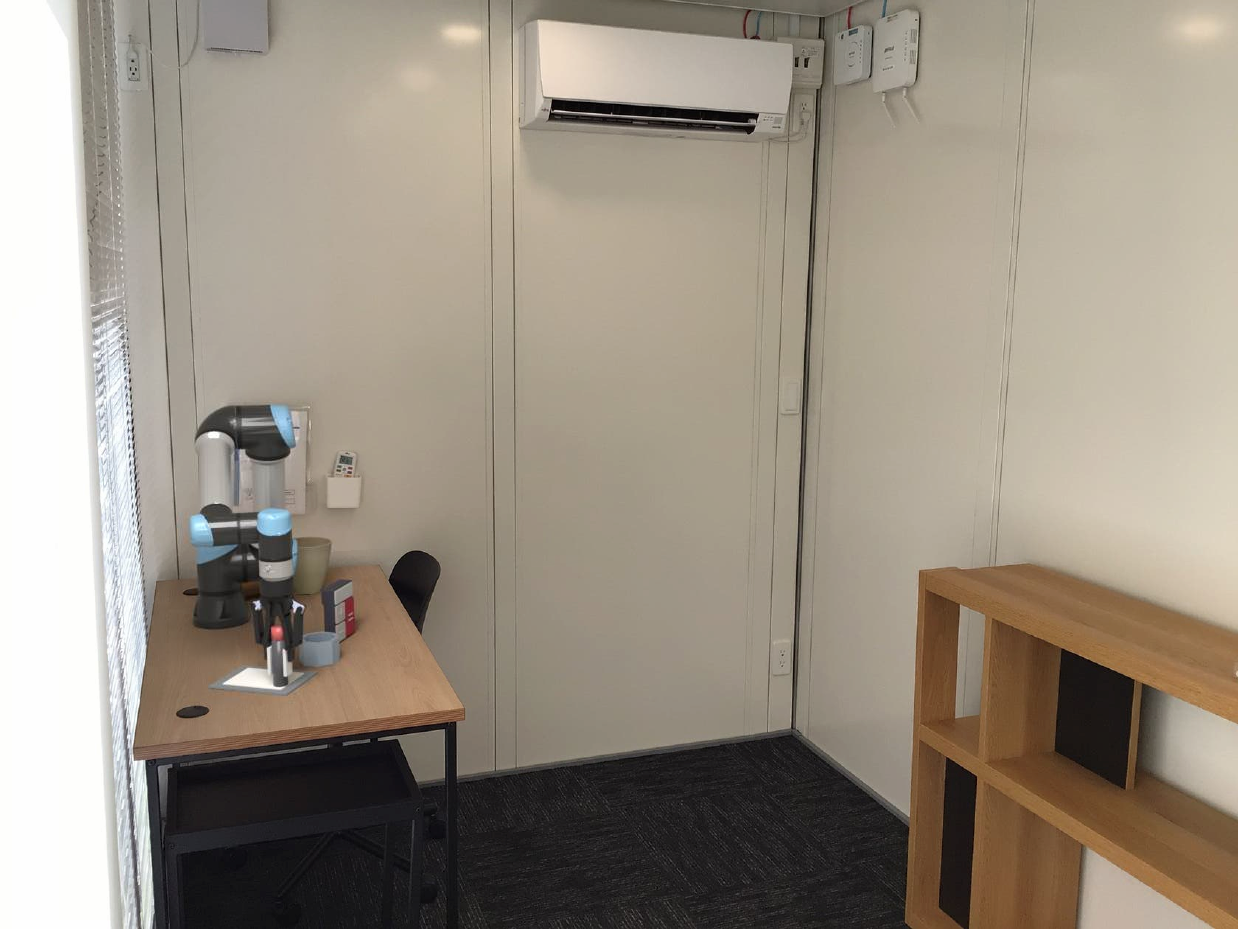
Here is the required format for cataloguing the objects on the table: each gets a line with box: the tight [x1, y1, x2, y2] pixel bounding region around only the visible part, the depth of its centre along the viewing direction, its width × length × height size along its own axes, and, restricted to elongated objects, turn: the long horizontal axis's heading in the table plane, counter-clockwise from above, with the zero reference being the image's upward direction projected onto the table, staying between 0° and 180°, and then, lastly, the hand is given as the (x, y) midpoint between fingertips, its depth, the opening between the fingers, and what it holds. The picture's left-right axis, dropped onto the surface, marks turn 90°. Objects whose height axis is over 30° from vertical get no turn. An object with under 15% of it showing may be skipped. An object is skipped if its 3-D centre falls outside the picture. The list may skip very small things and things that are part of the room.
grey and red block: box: [320, 578, 356, 643], centre depth 277 cm, size 11×4×15 cm, turn 168°
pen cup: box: [298, 631, 341, 668], centre depth 261 cm, size 9×9×6 cm
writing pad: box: [207, 664, 319, 697], centre depth 247 cm, size 20×15×1 cm
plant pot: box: [292, 536, 333, 595], centre depth 321 cm, size 15×15×16 cm
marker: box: [271, 623, 288, 687], centre depth 242 cm, size 3×3×14 cm
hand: (280, 673), depth 242 cm, fingers closed on marker, 3 cm apart
